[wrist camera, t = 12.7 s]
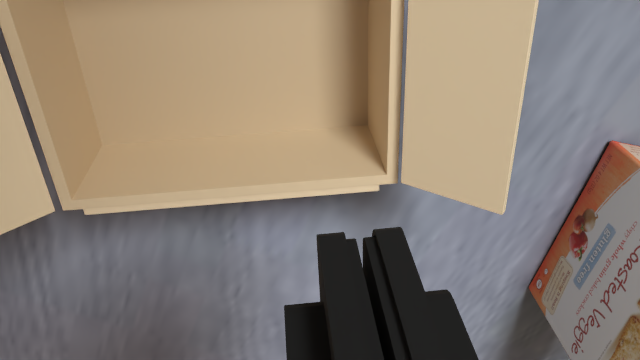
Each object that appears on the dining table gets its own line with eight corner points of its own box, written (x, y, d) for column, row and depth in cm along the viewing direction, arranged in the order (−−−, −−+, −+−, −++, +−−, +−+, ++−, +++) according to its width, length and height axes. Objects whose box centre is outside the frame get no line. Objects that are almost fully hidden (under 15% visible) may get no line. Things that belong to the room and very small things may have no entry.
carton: (20, -126, 27) (-50, -121, 21) (378, -144, 28) (409, -144, 22) (99, 156, 35) (65, 217, 29) (375, 135, 36) (397, 190, 30)
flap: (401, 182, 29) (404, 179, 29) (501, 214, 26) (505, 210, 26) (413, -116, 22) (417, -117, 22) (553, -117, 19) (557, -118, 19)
